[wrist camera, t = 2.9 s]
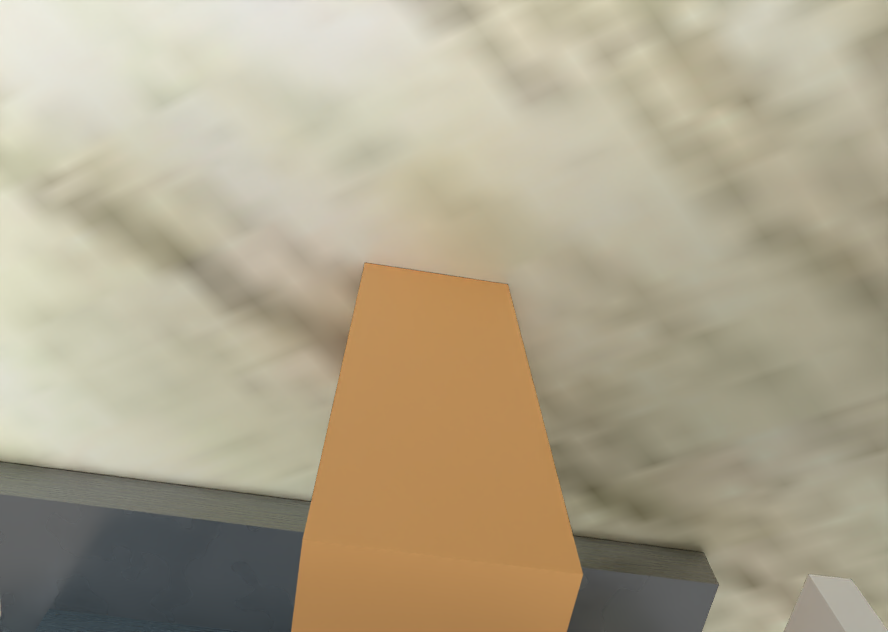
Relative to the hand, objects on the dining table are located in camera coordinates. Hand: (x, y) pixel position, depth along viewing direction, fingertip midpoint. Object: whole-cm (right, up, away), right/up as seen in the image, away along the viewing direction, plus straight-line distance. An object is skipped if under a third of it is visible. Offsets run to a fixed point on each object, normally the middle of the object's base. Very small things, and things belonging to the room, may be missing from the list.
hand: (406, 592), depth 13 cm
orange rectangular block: (0, +4, +10) cm, 11 cm away
